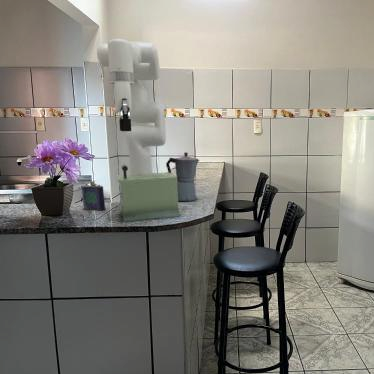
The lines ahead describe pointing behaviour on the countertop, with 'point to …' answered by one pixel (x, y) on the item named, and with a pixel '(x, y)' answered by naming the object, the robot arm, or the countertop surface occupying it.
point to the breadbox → (149, 199)
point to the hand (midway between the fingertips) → (125, 131)
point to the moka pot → (184, 176)
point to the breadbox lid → (143, 176)
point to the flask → (93, 197)
